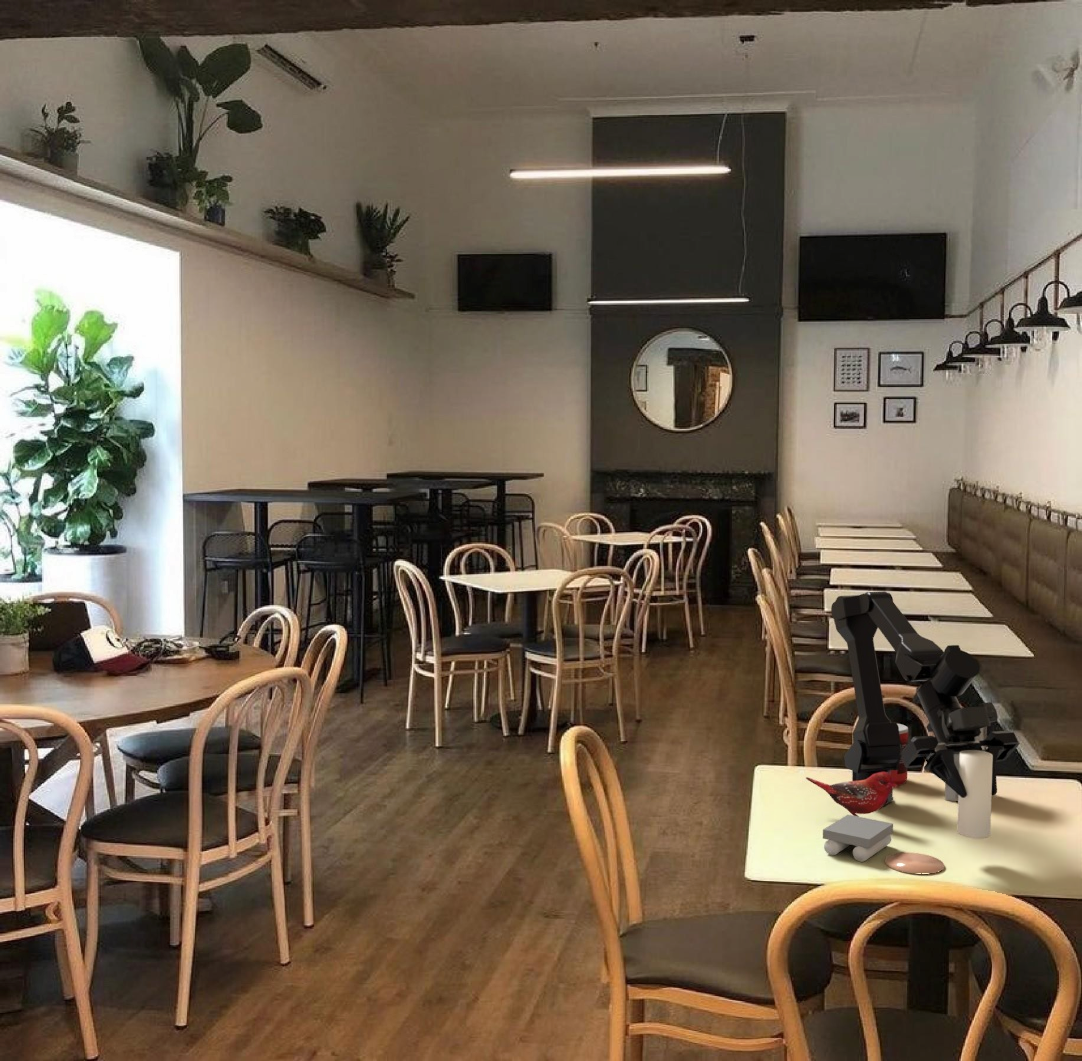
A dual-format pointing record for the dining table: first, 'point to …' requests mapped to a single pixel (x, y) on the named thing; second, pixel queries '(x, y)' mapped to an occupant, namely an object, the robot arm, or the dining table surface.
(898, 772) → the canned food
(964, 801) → the post
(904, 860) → the pad
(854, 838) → the slab on rollers
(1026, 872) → the dining table surface
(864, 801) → the decorative bird figurine
